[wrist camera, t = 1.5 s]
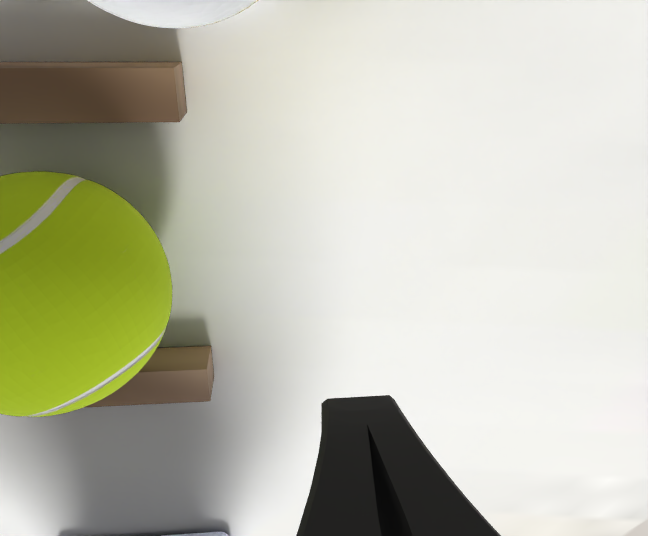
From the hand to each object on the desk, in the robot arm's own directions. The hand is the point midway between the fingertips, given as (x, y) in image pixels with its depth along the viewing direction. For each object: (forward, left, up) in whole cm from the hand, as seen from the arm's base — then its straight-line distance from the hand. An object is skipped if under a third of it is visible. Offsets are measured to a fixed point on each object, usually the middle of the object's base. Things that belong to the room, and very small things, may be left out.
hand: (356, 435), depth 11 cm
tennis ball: (0, +8, -10) cm, 13 cm away
